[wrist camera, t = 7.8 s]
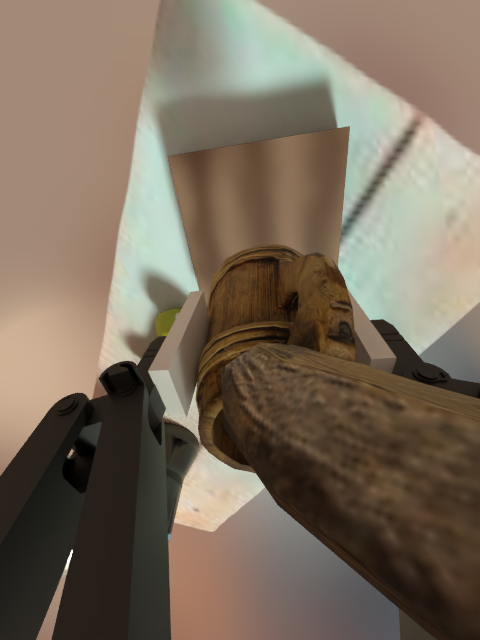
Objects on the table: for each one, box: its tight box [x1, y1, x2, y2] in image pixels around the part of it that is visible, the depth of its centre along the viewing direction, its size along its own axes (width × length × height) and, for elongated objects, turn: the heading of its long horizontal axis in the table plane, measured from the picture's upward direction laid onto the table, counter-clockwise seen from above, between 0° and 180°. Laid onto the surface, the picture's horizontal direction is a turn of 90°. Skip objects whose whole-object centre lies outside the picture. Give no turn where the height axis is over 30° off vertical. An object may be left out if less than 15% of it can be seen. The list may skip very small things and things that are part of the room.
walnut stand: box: [167, 126, 350, 306], centre depth 30 cm, size 18×18×4 cm
